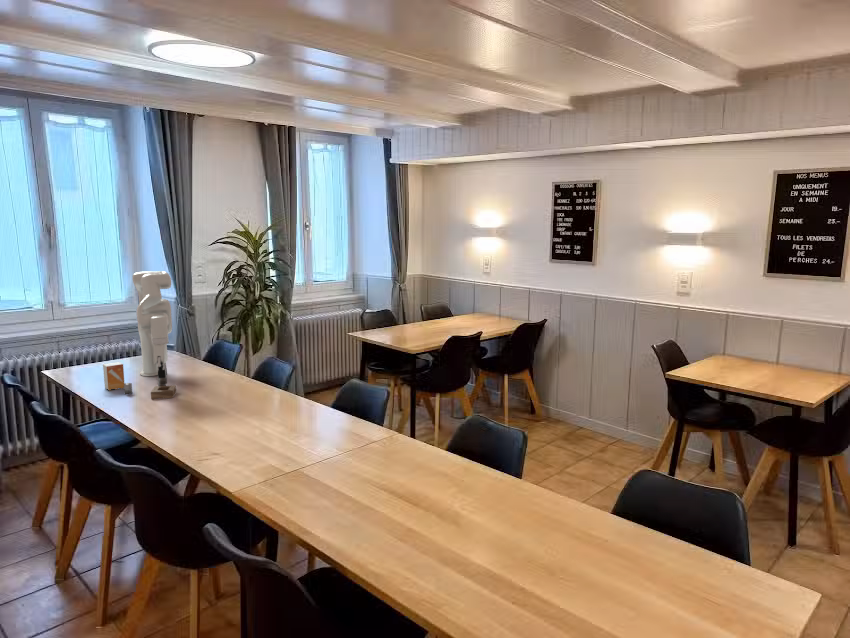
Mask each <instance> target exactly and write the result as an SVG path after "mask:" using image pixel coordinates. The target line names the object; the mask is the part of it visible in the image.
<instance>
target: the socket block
mask: <svg viewBox="0 0 850 638" xmlns="http://www.w3.org/2000/svg"><path fill="white" fill-rule="evenodd" d="M176 393H177V384H174V385H173V384H172V385H166V386H158V385H157V386H156V385H155V386H154V387H153V388H152V390H151V391H150V399H151V400H157V398H160V399H173V398H174V397H175V395H176Z"/></svg>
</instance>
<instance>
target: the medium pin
mask: <svg viewBox="0 0 850 638" xmlns="http://www.w3.org/2000/svg"><path fill="white" fill-rule="evenodd" d="M157 386H167V384H163V385H161V384H159V378H158V377H157Z"/></svg>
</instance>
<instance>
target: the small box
mask: <svg viewBox="0 0 850 638" xmlns="http://www.w3.org/2000/svg"><path fill="white" fill-rule="evenodd" d="M102 370H103V380H104V381H103V382H104V389H105V388H106V389H105V390H107V389H108V390H109V391H112V390H111V389H115V390H119V389H118V388H121V389H124V384H125V383H126V382H125V371H124V363H122V362H121V361H117V362H110V363H104V364H102ZM108 390H107V391H108Z"/></svg>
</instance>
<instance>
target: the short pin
mask: <svg viewBox="0 0 850 638" xmlns="http://www.w3.org/2000/svg"><path fill="white" fill-rule="evenodd" d="M124 383H125V384H124V388H123V390H124V391H123V392H124V393H125V394H124V395H126V394H128V395H132V394H133V384H132V383H131V382H124ZM131 393H132V394H131Z"/></svg>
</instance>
